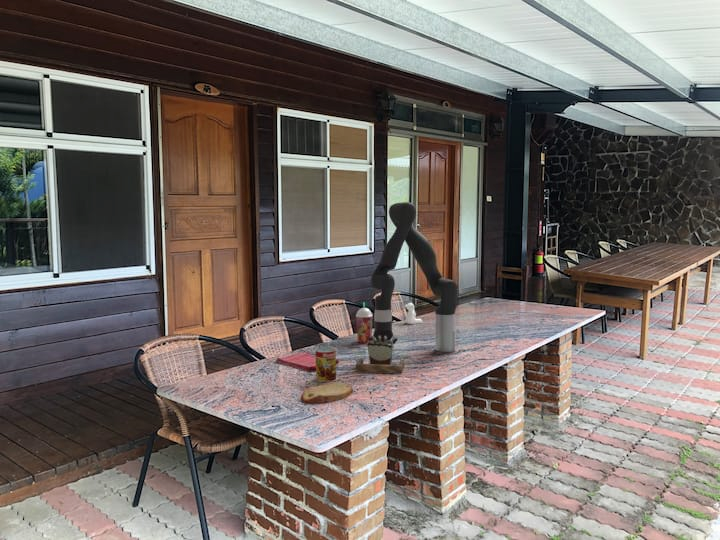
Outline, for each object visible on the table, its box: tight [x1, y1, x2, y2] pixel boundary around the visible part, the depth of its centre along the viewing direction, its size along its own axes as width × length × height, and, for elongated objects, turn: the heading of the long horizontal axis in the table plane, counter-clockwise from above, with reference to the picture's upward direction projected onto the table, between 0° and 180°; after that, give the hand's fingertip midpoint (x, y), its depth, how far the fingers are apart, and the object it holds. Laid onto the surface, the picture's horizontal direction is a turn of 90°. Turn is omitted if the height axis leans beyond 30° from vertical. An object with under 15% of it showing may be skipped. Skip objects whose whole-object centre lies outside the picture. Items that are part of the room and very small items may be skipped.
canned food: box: [315, 346, 337, 383], centre depth 237 cm, size 8×8×12 cm
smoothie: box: [355, 302, 374, 344], centre depth 296 cm, size 8×8×20 cm
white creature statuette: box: [404, 302, 423, 325], centre depth 340 cm, size 10×9×12 cm
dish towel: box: [275, 352, 340, 372], centre depth 261 cm, size 17×24×3 cm
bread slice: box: [300, 382, 354, 405], centre depth 217 cm, size 18×18×4 cm
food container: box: [365, 339, 395, 365], centre depth 257 cm, size 12×6×10 cm, turn 66°
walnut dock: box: [354, 358, 405, 374], centre depth 249 cm, size 19×10×3 cm, turn 79°
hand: (383, 358), depth 260 cm, fingers closed
